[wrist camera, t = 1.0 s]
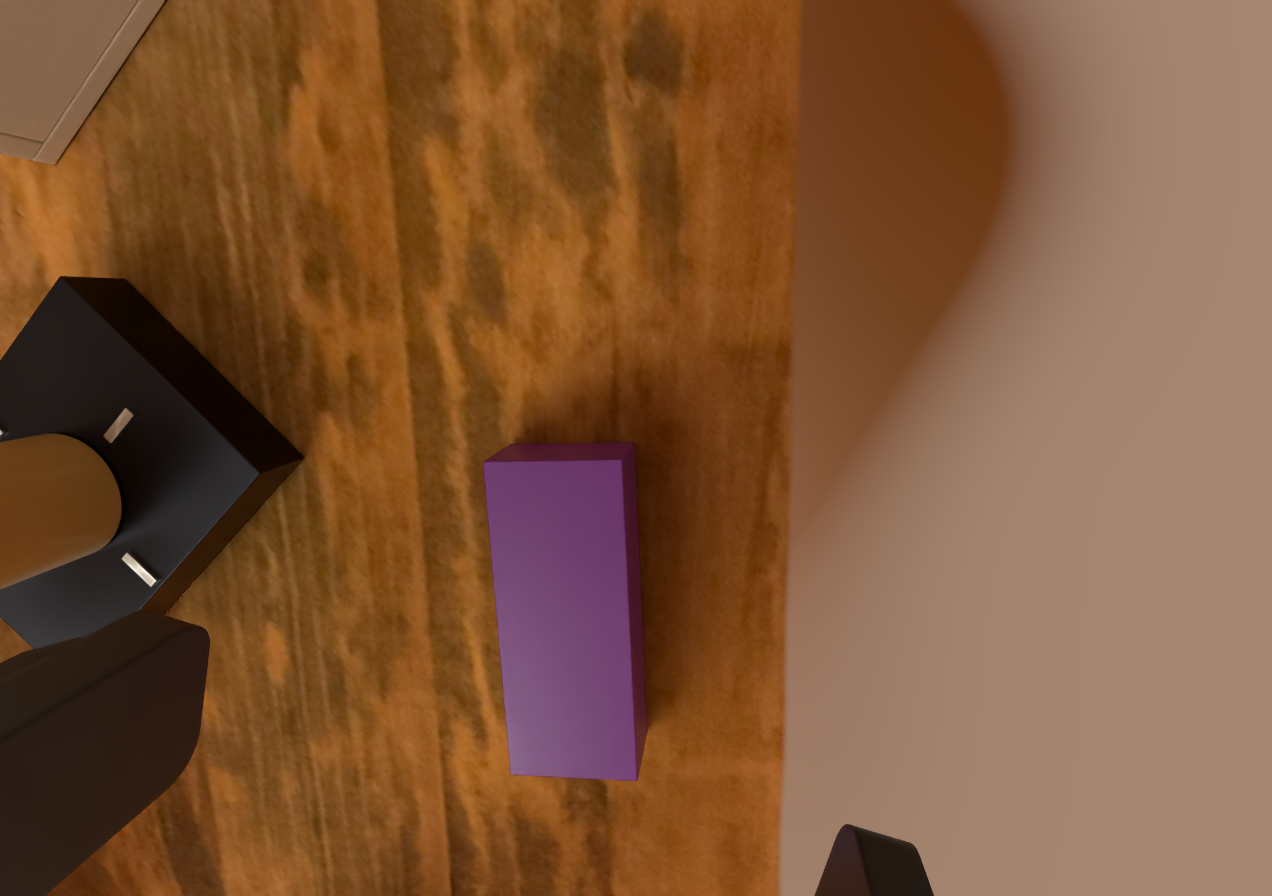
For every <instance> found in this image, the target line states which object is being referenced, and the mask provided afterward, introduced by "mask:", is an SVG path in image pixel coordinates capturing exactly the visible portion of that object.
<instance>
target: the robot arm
mask: <svg viewBox="0 0 1272 896" xmlns="http://www.w3.org/2000/svg"><path fill="white" fill-rule="evenodd" d="M209 649H210V639H209V635H208V632H207V631H206V629H204V628H203V627H200V626H197V625H194V624H190V623H187V622H184V621H180V620H177V619H174V618H170V617H167V616H164V615H160V614H157V613H154V612H151V611H147V610H140V611H135V612H133V613H130V614H128V615H126V616H124V617H122V618H120V619H119V620H117V621H115V622H113V623H111V624H109V625H107V626H105V627H103V628H101V629H99V630H97V631H95V632H93V633H91V634H89V635H88V636H86V637H84V638H82V637H77V638H73V639H70V640H66V641H62V642H59V643H55V644H52V645H48V646H44V647H41V648H37V649H33V650H30V651H26V652H23V653H20V654H18V655H16V656H14V657H12V658H10V659H8V660H6V661H4V662H2V663H0V896H45V895H46V894H47V893H48V892H49V891H51V890H52V889H53V888H54V887H55V886H56V885H57V884H59V883H60V882H61V881H62V880H63V879H64V878H66V877H67V876H68V875H69V874H70V873H71V872H72V871H74V870H75V869H76V868H77V867H78V866H79V865H81V864H82V863H83V862H84V861H85V860H86V859H87V858H89V857H90V856H91V855H92V854H93V853H94V852H96V851H97V850H98V849H99V848H100V847H101V846H102V845H104V844H105V843H106V842H107V841H108V840H109V839H111V838H112V837H113V836H114V835H115V834H116V833H117V832H119V831H120V830H121V829H122V828H123V827H124V826H126V825H127V824H128V823H129V822H130V821H131V820H132V819H134V818H135V817H136V816H137V815H138V814H139V813H141V812H142V811H143V810H144V809H145V808H146V807H148V806H149V805H150V804H151V803H152V802H153V801H154V800H156V799H157V798H158V797H159V796H160V795H161V794H163V793H164V792H165V791H166V790H167V789H168V788H169V787H170V786H171V785H172V784H173V783H174V782H175V781H176V780H177V778H178V777H179V776H180V774H181V773H182V772H183V770H184V769H185V767H186V766H187V764H188V762H189V760H190V759H191V756H192V754H193V752H194V750H195V747H196V745H197V742H198V738H199V733H200V726H201V717H202V709H203V700H204V692H205V683H206V675H207V666H208V658H209ZM815 896H934V895H933V892H932V889H931V886H930V883H929V880H928V878H927V875H926V872H925V869H924V866H923V864H922V861H921V858H920V856H919V853H918V851H917V849H916V848H915V846H914V845H913V844H911V843H909V842H906V841H902V840H899V839H895V838H893V837H889V836H886V835H882V834H879V833H876V832H872V831H869V830H866V829H863V828H859V827H856V826H853V825H849V824H846V825H844V826H843V827H842V828H841V829H840V831H839V833H838V835H837V837H836V839H835V842H834V844H833V847H832V850H831V853H830V855H829V858H828V861H827V864H826V866H825V869H824V872H823V874H822V877H821V880H820V882H819V886H818V888H817V891H816V893H815Z"/></svg>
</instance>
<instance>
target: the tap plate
mask: <svg viewBox="0 0 1272 896" xmlns="http://www.w3.org/2000/svg"><path fill="white" fill-rule="evenodd" d="M51 433H54V434H62V435H66V436H70V437H72V438H75V439H77V440H79V441H81V442H83V443H85V444H86V445H88V446H89V447H90V448H92V449H93V450H94V451H95V452H96V453H98V455H99V456H100V457H101V458H102V459H103V460H104V461H105V463H106V464H107V465H108V467H109V468H110V470H111V472H112V473H113V475H114V477H115V479H116V482H117V484H118V488H119V491H120V496H121V503H122V512H121V519H120V523H119V526H118V529H117V531H116V533H115V535H114V536H113V538H112V539H111V540H110V542H109V543H108V544H107V545H106V546H104V547H103V548H102V549H100V550H99V551H97V552H95V553H92V554H90V555H87V556H85V557H82V558H79V559H77V560H74V561H72V562H69V563H67V564H64V565H62V566H59V567H56V568H54V569H51V570H49V571H46V572H44V573H41V574H39V575H36V576H33V577H31V578H28V579H26V580H23V581H21V582H18V583H16V584H13V585H10V586H8V587H5V588H3V589H0V617H1V618H2V619H3V620H4V621H5V622H6V623H7V624H8V625H9V626H10V627H11V628H12V629H13V630H14V631H16V632H17V633H18V634H19V635H20V636H21V637H22V638H23V639H24V640H25V641H26V642H27V643H28V644H29V645H30V646H31V647H32V648H34V649H37V648H41V647H44V646H48V645H52V644H55V643H59V642H62V641H66V640H70V639H73V638H77V637H82V638H84V637H86V636H88V635H89V634H91V633H93V632H95V631H97V630H99V629H101V628H103V627H105V626H107V625H109V624H111V623H113V622H115V621H117V620H119V619H120V618H122V617H124V616H126V615H128V614H130V613H133V612H135V611H140V610H147V611H151V612H154V613H157V614H160V615H164V614H165V613H166V612H167V610H168V609H169V608H170V607H171V606H172V605H173V604H174V603H175V601H176V600H177V599H178V598H179V597H180V596H181V595H182V594H183V593H184V591H185V590H186V589H187V588H188V587H189V586H190V585H191V584H192V583H193V581H194V580H195V579H196V578H197V577H198V576H199V575H200V574H201V573H202V571H203V570H204V569H205V568H206V567H207V566H208V565H209V564H210V562H211V561H212V560H213V559H214V558H215V557H216V556H217V555H218V554H219V552H220V551H221V550H222V549H223V548H224V547H225V546H226V545H227V544H228V542H229V541H230V540H231V539H232V538H233V537H234V536H235V535H236V534H237V532H238V531H239V530H240V529H241V528H242V527H243V526H244V525H245V523H246V522H247V521H248V520H249V519H250V518H251V517H252V516H253V515H254V513H255V512H256V511H257V510H258V509H259V508H260V507H261V506H262V505H263V503H264V502H265V501H266V500H267V499H268V498H269V497H270V496H271V495H272V493H273V492H274V491H275V490H276V489H277V488H278V487H279V486H280V484H281V483H282V482H283V481H284V480H285V479H286V478H287V477H288V476H289V474H290V473H291V472H292V471H293V470H294V469H295V468H296V467H297V466H298V464H299V463H300V462H301V461H302V460H303V459H304V457H303V456H302V455H301V454H300V453H299V452H298V451H297V450H296V449H295V448H294V447H293V446H292V445H291V444H290V443H289V442H288V441H287V440H286V439H285V438H284V437H283V436H282V435H281V434H280V433H279V432H278V431H277V430H276V429H275V428H274V427H273V426H272V425H271V424H270V423H269V422H268V421H267V420H266V419H265V418H264V417H263V416H262V415H261V414H260V413H259V412H258V411H257V410H256V409H255V408H254V407H253V406H252V405H251V404H250V403H249V402H248V401H247V400H246V399H245V398H244V397H243V396H242V395H241V394H240V393H239V392H238V391H237V390H236V389H235V388H234V387H233V386H232V385H231V384H230V383H229V382H228V381H227V380H226V379H225V378H224V377H223V376H222V375H221V374H220V373H219V372H218V371H217V370H216V369H215V368H214V367H213V366H212V365H211V364H210V363H209V362H208V361H207V360H206V359H204V358H203V357H202V356H201V355H200V354H199V353H198V352H197V351H196V350H195V349H194V348H193V347H192V346H191V345H190V344H189V343H188V342H187V341H186V340H185V339H184V338H183V337H182V336H181V335H180V334H179V333H178V332H177V331H176V330H175V329H174V328H173V327H172V326H171V325H170V324H169V323H168V322H167V321H166V320H165V319H164V318H163V317H162V316H161V315H160V314H159V313H158V312H157V311H156V310H155V309H154V308H153V307H152V306H151V305H150V304H149V303H148V302H147V301H146V300H145V299H144V298H143V297H142V296H141V295H140V294H139V293H138V292H137V291H136V290H135V289H134V288H133V287H132V286H131V285H130V284H129V283H128V282H127V281H126V280H125V279H116V278H92V277H68V276H60V277H59V279H58V280H57V281H56V283H55V284H54V286H53V287H52V288H51V290H50V291H49V293H48V294H47V295H46V297H45V298H44V300H43V301H42V303H41V304H40V305H39V307H38V308H37V310H36V311H35V312H34V314H33V315H32V317H31V318H30V319H29V321H28V322H27V324H26V325H25V326H24V328H23V329H22V331H21V332H20V334H19V335H18V336H17V338H16V339H15V341H14V342H13V343H12V345H11V346H10V348H9V349H8V350H7V352H6V353H5V355H4V356H3V357H2V359H1V360H0V442H4V441H10V440H15V439H20V438H26V437H31V436H36V435H41V434H51Z"/></svg>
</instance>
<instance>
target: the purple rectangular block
mask: <svg viewBox="0 0 1272 896" xmlns="http://www.w3.org/2000/svg"><path fill="white" fill-rule="evenodd" d="M483 467H484V478H485V489H486V501H487V512H488V523H489V535H490V546H491V557H492V568H493V580H494V591H495V602H496V614H497V625H498V636H499V647H500V659H501V670H502V681H503V693H504V704H505V715H506V726H507V738H508V749H509V760H510V772H511V775H526V776H546V777H567V778H587V779H607V780H628V781H637V780H638V776H639V771H640V766H641V761H642V756H643V751H644V745H645V740H646V735H647V715H646V692H645V670H644V648H643V625H642V603H641V581H640V558H639V536H638V514H637V491H636V469H635V446H634V442H606V443H550V444H510V445H509V446H507V447H506V448H504V449H502V450H501V451H499V452H498V453H496V454H495V455H493V456H491V457H490V458H488V459H487V460H485V461H484V462H483Z"/></svg>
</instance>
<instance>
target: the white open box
mask: <svg viewBox="0 0 1272 896" xmlns="http://www.w3.org/2000/svg"><path fill="white" fill-rule="evenodd" d="M164 2H165V0H0V154H3V155H8V156H12V157H17V158H22V159H27V160H33V161H36V162H41V163H46V164H51V165H55V164H56V162H57V161H58V159H59V158H60V156H61V155H62V153H63V152H64V150H65V149H66V147H67V146H68V144H69V143H70V141H71V140H72V138H73V137H74V136H75V134H76V133H77V131H78V130H79V128H80V127H81V125H82V124H83V122H84V121H85V119H86V118H87V116H88V115H89V113H90V112H91V110H92V109H93V107H94V106H95V104H96V103H97V101H98V100H99V98H100V97H101V95H102V94H103V92H104V91H105V89H106V88H107V86H108V85H109V83H110V82H111V81H112V79H113V78H114V76H115V75H116V73H117V72H118V70H119V69H120V67H121V66H122V64H123V63H124V61H125V60H126V58H127V57H128V55H129V54H130V52H131V51H132V49H133V48H134V46H135V45H136V43H137V42H138V40H139V39H140V37H141V36H142V34H143V33H144V31H145V30H146V28H147V27H148V26H149V24H150V23H151V21H152V20H153V18H154V17H155V15H156V14H157V12H158V11H159V9H160V8H161V6H162V5H163V3H164Z"/></svg>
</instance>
